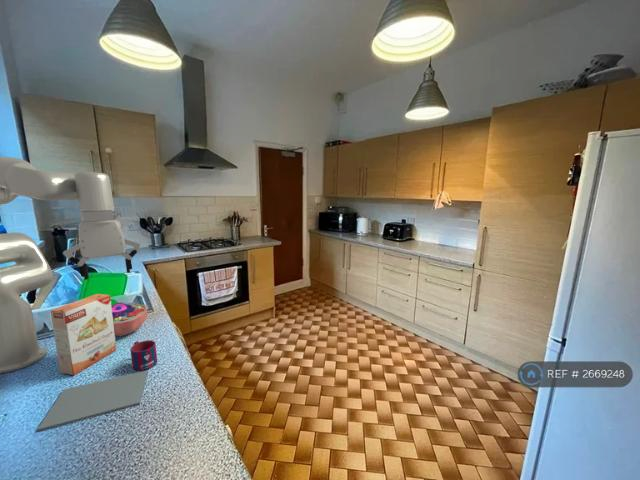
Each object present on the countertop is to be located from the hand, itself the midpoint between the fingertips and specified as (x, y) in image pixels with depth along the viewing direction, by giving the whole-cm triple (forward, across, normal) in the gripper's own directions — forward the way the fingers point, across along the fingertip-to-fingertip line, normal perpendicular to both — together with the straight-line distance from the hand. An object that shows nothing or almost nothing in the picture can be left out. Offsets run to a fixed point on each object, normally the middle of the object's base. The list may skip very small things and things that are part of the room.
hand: (108, 275), depth 78 cm
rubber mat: (+31, +5, +10) cm, 33 cm away
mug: (+32, -5, -1) cm, 32 cm away
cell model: (+31, 0, -29) cm, 42 cm away
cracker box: (+31, +9, -12) cm, 34 cm away
